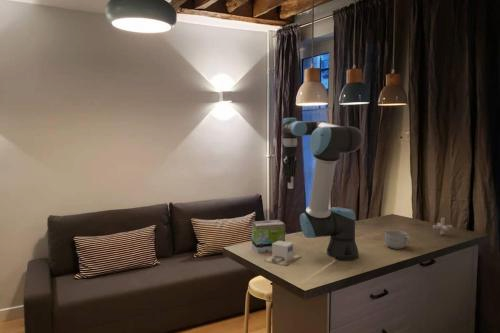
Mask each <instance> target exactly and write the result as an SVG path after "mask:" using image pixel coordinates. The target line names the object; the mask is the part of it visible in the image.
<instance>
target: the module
mask: <svg viewBox="0 0 500 333" xmlns="http://www.w3.org/2000/svg"><path fill="white" fill-rule="evenodd" d="M293 252H294V243H293V242H288V241H285V242H284V241H277V242H275V243H272V252H271V254H272V255H271V256H272V258H275V257H277V256H278V257H282V258H284V261H289V260H290V259H292V258H294V256H293Z"/></svg>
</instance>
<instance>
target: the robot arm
mask: <svg viewBox="0 0 500 333" xmlns="http://www.w3.org/2000/svg"><path fill="white" fill-rule="evenodd" d="M282 131H283V132H282V133H283V134H282V135H283V140H282V142H283V148H282V149H283V150H282V151H283V154H285V156H284V158H283V159H282V163H283V169H284V170H283V171H284V176H285V177H286V178H287V189H294V177H295V176H296V172H297V166H298V165H297V164H298V159H299V158H298V157H296V154H297V153H298V137H302V136H310V139H309V145H310V146H309V150H310V153H312V154H313V155H312V156H313V158H314V159H315V163H314V164H315V166H314V172H313V173H314V174H313V180H312V185H311V186H312V187H311V194H310V202H309V205H308V206H306V209H305V211H304V212H303V213H301V214H300V216H299V224H300V228H301V232H302V234H303V235H304V236H305V237H306V238H308V239H309V238H310V239H311V238H313V239H316V238H322V237H323V238H325V237H329V238H330V239H329V242H328V245H327V247H326V255H328V256H329V257H331V258H334V260H336V261H337V260H338V261H353V260H356V259H358V258H359V255H360V254H359V253H360V251H359V249H358V246H357V242H356V213H355V211H354V210H352V209H351V208H345V207H339V206H332V207H330V208H329V206H330V201H331V194H332V188H333V182H334V177H335V176H334V175H335V169H336V165H337V162H339V161H340V160H341V156H342V154H349V153H353V152H356V151H358V150H359V149H360V148H361V146H362V145H363V142H364V134H363V133H362V131H361V129H359V128H358V127H355V126H349V125H346V126H342V125H341V126H340V125H336V124H334V123H331V122H330V120H329V121H328V120H303V121H302V120H297V118H296V117H284V118H283V120H282Z"/></svg>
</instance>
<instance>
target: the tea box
mask: <svg viewBox="0 0 500 333" xmlns="http://www.w3.org/2000/svg"><path fill="white" fill-rule="evenodd" d="M277 241H284V242H286V223H284V222H283V221H281V220H280V219H271V220H257V221H256V220H255V221H251V249H252V250H254V251H255V252H256V253H257V254H260V253H269V252H271V253H272V243H275V242H277Z"/></svg>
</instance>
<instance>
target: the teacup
mask: <svg viewBox="0 0 500 333" xmlns="http://www.w3.org/2000/svg"><path fill="white" fill-rule="evenodd" d="M384 233H385V234H384V235H385V236H384V239H385V240H384V241H385V244H386V245H387V246H388V247H389V248H390V249H395V250H396V249H397V250H400V249H403V248H404V247H406V246H408V245H410V244H411V242H412V238H411V236H409V235H408V233H407V232H405V231H403V230H394V229H391V230H385V231H384Z"/></svg>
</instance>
